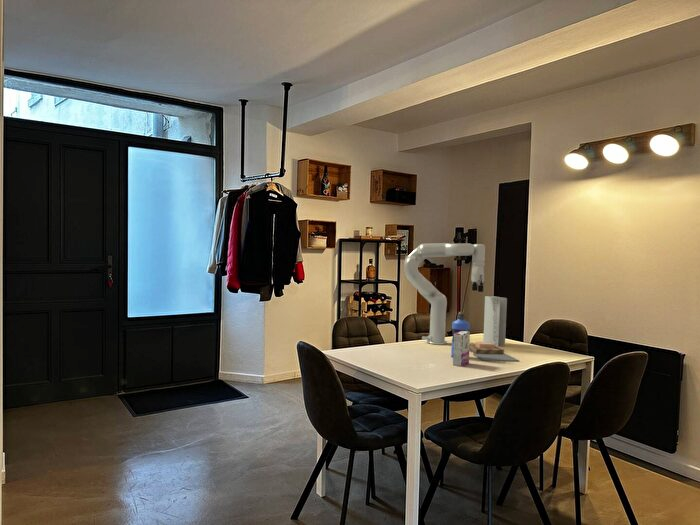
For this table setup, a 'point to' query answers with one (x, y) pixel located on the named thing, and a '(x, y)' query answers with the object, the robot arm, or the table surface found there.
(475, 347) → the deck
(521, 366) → the table surface
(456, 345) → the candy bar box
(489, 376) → the table surface
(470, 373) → the table surface
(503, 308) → the tall grey box
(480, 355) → the mat
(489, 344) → the tile
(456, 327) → the water bottle
